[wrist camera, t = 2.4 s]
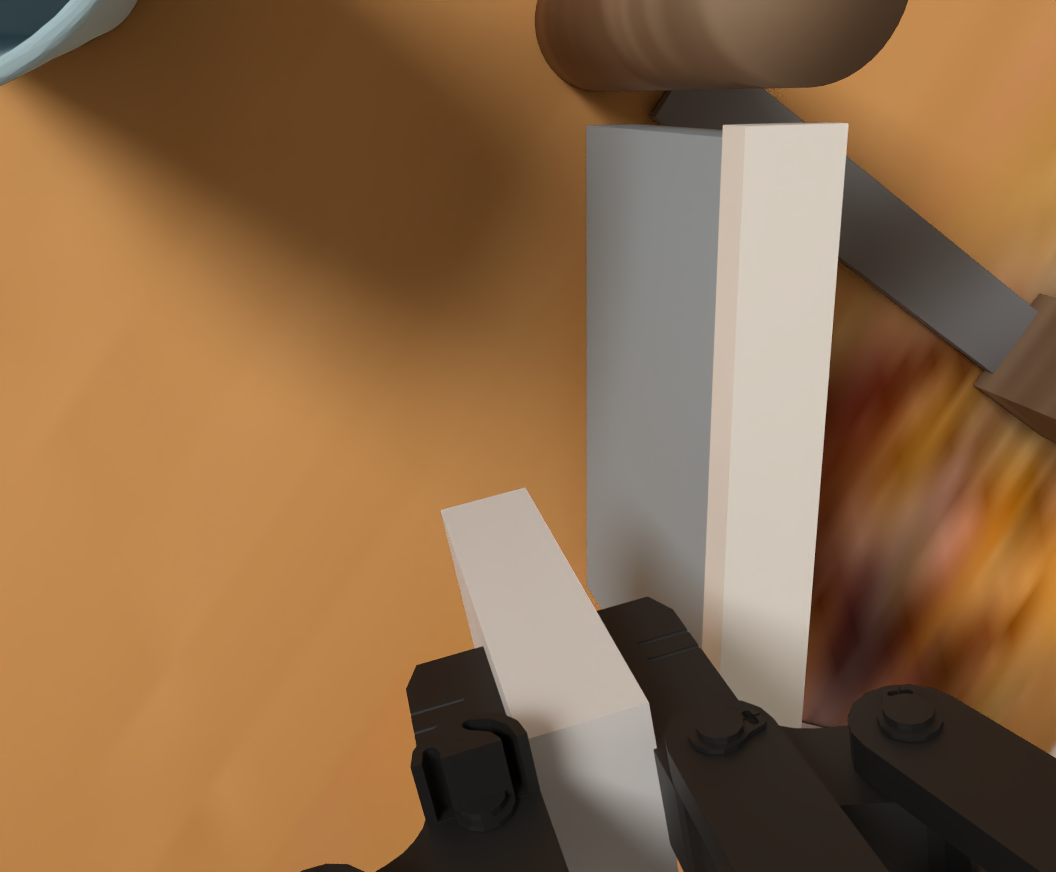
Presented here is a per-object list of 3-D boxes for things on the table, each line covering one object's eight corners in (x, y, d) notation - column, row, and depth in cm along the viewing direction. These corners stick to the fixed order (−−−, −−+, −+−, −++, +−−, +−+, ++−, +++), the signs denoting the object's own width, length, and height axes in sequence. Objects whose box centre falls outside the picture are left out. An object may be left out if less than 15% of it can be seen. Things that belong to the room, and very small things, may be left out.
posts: (509, 40, 23) (667, -1, 13) (583, -82, 22) (799, -210, 13) (1041, 435, 29) (1392, 592, 20) (1106, 348, 29) (1496, 467, 20)
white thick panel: (577, 116, 22) (745, 125, 14) (646, 114, 23) (849, 123, 15) (579, 593, 26) (713, 816, 18) (638, 586, 27) (795, 801, 18)
